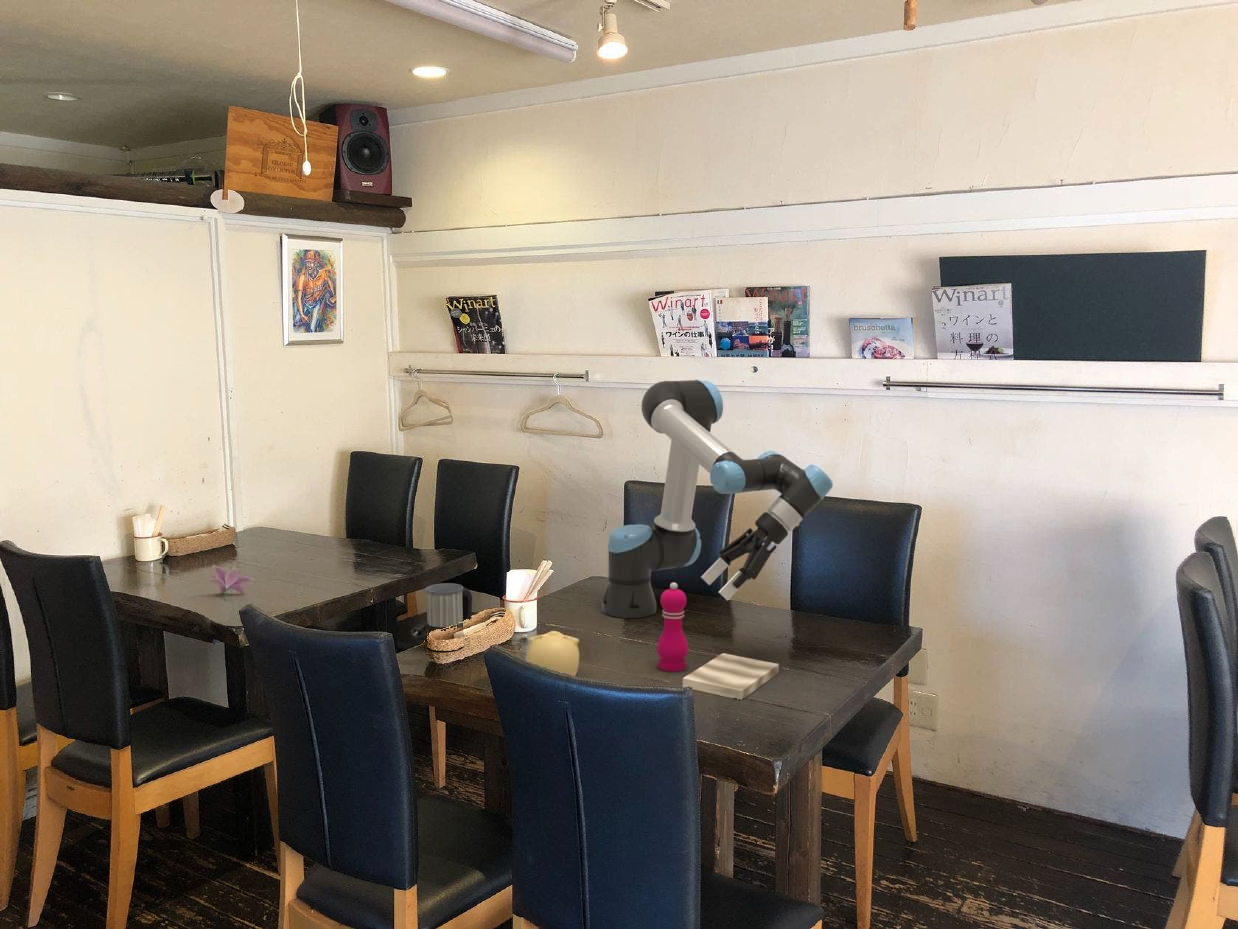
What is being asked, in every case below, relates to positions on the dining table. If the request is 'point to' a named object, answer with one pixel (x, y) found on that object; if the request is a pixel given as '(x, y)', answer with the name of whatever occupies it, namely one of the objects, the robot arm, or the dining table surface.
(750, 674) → the serving board
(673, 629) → the pepper mill
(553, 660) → the sculpture
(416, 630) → the milk frother
